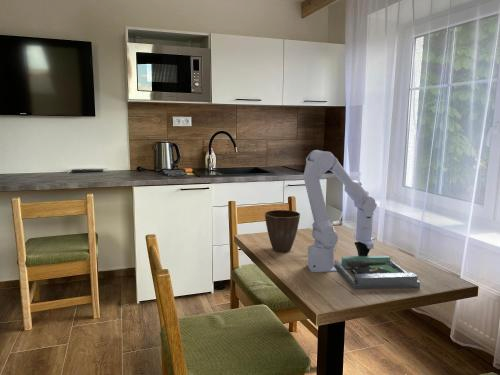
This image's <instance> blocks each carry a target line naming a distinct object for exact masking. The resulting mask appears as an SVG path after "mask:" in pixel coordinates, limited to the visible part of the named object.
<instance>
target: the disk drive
mask: <svg viewBox="0 0 500 375" xmlns="http://www.w3.org/2000/svg"><path fill="white" fill-rule="evenodd" d="M350 270H351V273H352V274H354V275H355V274H376V273H401V272H400V271H398V270H397V269H394V268H393V267H391V266H389V265H388V264H387V265H386V264H384V265H383V264H380V265H366V266H353V267H352V268H351V269H350Z"/></svg>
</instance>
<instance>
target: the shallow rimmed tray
mask: <svg viewBox="0 0 500 375" xmlns="http://www.w3.org/2000/svg"><path fill="white" fill-rule="evenodd" d="M333 266H334V267H335V268H336V270H337V271H339V273H341V276H343V277H344V278H345V280H347V282H348V283H349V284H350V285H351V287H352V288H353V289H354V290H378V289H380V290H382V289H408V288H409V289H411V288H414V289H416V288H420V287H421V282H420V281H419V280H418V279H419V277H418V275H416V274H415V273H414V272H407V271H406V270H405V269H404V268H402V266H400V265H398V264H397V263H396V262H395V261H394V260H392V259H391V258H390V266H391V267H393V268H394V269H397V270H398V271H400V272H401V273H376V274H354V277H352V275H351V274H350V273H349V272H348V270H347V269H344V267H343V266H342V265H341V263H340V262H339V261H338V259H334V264H333Z"/></svg>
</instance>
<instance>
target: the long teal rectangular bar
mask: <svg viewBox="0 0 500 375" xmlns="http://www.w3.org/2000/svg"><path fill="white" fill-rule="evenodd" d="M390 259H391V256H389V255H368V256H358V255H357V256H356V255H354V256H351V255H349V256H341V263H340V264H341V265H342V266H343V267H344V269H345V270H347V269H349V270H351V268H352V267H353V266H366V265H380V264H383V265H384V264H386V265H387V264H388V265H389V266H390Z"/></svg>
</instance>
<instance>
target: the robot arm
mask: <svg viewBox="0 0 500 375" xmlns="http://www.w3.org/2000/svg"><path fill="white" fill-rule="evenodd" d="M305 162H306V163H305V167H304V172H303V181H304V185H305V190H306V193H307V198H308V202H309V206H310V210H311V215H312V219H313V223H312V224H311V225H312V231H311V235H312V238H313V240H314V244H313V245H308V248H307V263H306V266H307V267H308V269H309V270H310V272H311V273H326V272H337V271H338V269H337V267H336V266H335V265H334V260H335V246H336V244H337V243H338V241H339V236H338V234H337V232H336V231H335V230H334V227H333V224H332V223H331V221H330V220H329V214H328V212H327V211H328V210H327V207H326V203H325V198H324V194H323V189H322V186H321V182H320V179H321V178H322V176H323V175H325V173H327V172H328V171H330V172H332V173H333V174H334V176H336V178H337V179H338V180H339V181H340V182H341V183H342V185H344V191H345V193H346V194H347V195H348V196H349V197H350V199H351V200H352V201H353V204H354V207H356V208H357V209H356V210H357V211H356V212H357V213H356V226H355V227H356V228H355V230H356V231H355V232H354V236H353V237H354V240H355V241H354V245H355V248H356V252H357V256H369V253H370V251H371V250H372V249H374V244H375V243H374V242H373V241H375V237H373V236H372V235H373V234H372V232H373V218H374V217H373V216H374V213H375V210H376V208H377V207H378V206H377V203H376V200H375V199H374V197H372V196H370V195H369V192H368V191H366V190H365V189H364V187H362V185H363V184H362V182H360V181H357V180H353V179H352V178H351V176H350V175H349V173H348V172H347V171H346V170H345V169H344V167H343V166H342V165H341V163H340V162H339V159H338V158H337V157H336V156H335V155H334V154H333V153H332V152H331V151H323V150H319V149H315V150H312V151H311V152H310V153H309V154H308V155H307V157H306V158H305Z"/></svg>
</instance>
